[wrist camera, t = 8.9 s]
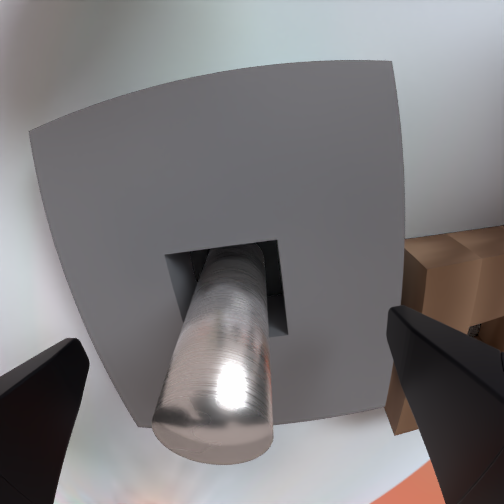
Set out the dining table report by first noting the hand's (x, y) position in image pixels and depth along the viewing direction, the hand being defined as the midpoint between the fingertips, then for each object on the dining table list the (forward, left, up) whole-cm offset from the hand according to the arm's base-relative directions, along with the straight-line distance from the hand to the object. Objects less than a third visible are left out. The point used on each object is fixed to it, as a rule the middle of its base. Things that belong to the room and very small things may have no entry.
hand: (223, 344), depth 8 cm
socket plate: (0, 0, -6) cm, 6 cm away
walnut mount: (-11, +5, -6) cm, 14 cm away
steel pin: (0, 0, -6) cm, 6 cm away
